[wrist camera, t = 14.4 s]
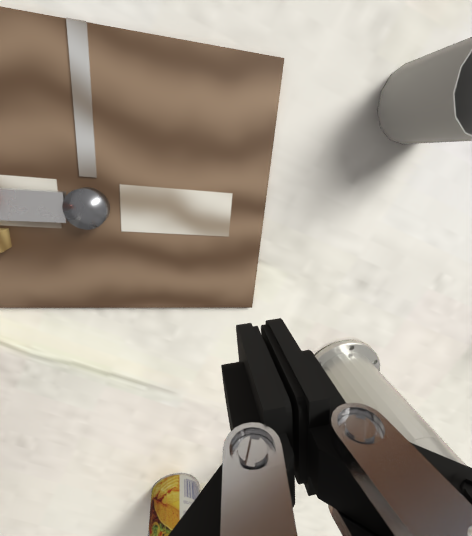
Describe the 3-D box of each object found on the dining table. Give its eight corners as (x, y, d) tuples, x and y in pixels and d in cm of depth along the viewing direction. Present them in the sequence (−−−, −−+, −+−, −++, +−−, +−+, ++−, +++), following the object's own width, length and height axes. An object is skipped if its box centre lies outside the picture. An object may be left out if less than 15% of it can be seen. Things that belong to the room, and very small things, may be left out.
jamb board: (250, 305, 39) (255, 315, 37) (-90, 304, 32) (-112, 317, 29) (282, 60, 30) (291, 51, 27) (-196, -27, 22) (-240, -48, 20)
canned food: (142, 497, 49) (131, 596, 38) (171, 467, 48) (168, 561, 36) (180, 509, 52) (180, 605, 41) (208, 481, 50) (216, 573, 39)
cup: (364, 105, 33) (436, 86, 24) (419, 42, 32) (517, -4, 22) (403, 158, 36) (481, 160, 27) (455, 103, 35) (555, 84, 25)
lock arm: (108, 188, 30) (95, 194, 25) (111, 226, 32) (99, 239, 27) (-89, 176, 27) (-147, 180, 22) (-76, 219, 28) (-129, 232, 23)
